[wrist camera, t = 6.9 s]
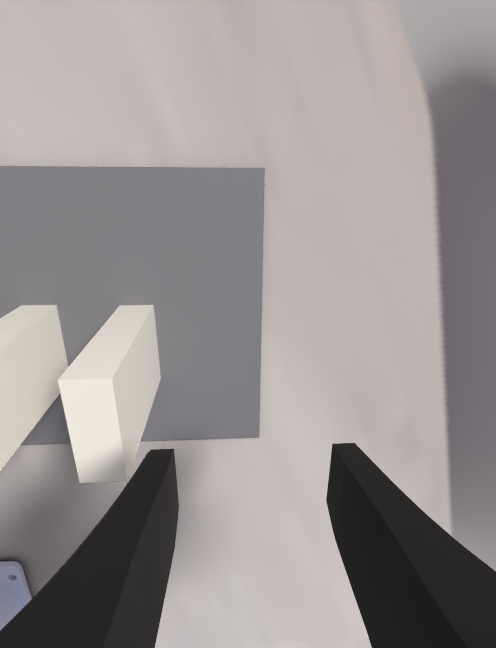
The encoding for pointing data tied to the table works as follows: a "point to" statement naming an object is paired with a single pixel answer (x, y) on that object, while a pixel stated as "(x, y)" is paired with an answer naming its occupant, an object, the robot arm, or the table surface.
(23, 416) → the domino
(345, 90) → the table surface
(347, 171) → the table surface
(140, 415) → the domino
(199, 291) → the runner mat
